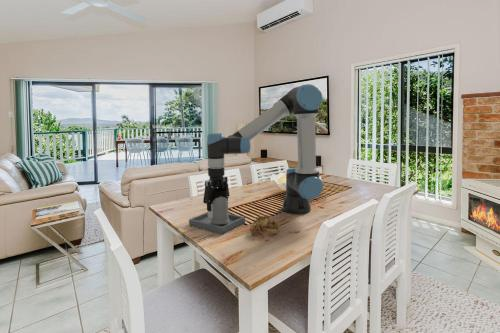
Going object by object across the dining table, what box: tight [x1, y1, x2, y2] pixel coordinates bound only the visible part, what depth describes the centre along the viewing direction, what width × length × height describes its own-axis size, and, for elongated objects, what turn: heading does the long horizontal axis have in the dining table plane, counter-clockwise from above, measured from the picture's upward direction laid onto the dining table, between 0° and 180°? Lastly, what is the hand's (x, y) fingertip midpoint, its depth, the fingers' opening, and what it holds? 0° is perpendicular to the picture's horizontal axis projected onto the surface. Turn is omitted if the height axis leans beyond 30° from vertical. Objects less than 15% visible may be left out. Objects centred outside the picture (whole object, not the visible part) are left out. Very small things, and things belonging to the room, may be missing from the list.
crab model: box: [248, 215, 280, 238], centre depth 132 cm, size 15×13×6 cm
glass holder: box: [211, 187, 230, 224], centre depth 140 cm, size 9×14×15 cm, turn 16°
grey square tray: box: [188, 211, 246, 235], centre depth 140 cm, size 20×17×3 cm
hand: (217, 214), depth 140 cm, fingers closed on glass holder, 9 cm apart
